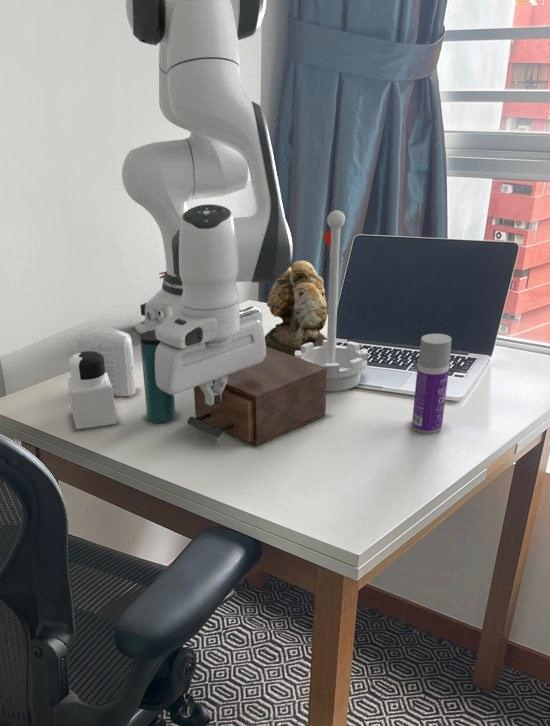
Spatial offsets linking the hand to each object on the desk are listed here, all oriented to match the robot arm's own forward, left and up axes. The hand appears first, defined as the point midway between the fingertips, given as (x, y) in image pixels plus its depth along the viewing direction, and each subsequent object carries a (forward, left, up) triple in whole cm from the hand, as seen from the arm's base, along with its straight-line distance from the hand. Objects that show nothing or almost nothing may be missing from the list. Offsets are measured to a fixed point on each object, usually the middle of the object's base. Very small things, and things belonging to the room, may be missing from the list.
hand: (214, 402), depth 136 cm
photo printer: (-29, -2, -6) cm, 30 cm away
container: (+22, +26, -6) cm, 35 cm away
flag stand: (-3, +30, -6) cm, 31 cm away
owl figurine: (-20, +38, -6) cm, 44 cm away
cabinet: (0, +10, -6) cm, 12 cm away
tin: (-13, -2, -6) cm, 14 cm away
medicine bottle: (-21, -11, -6) cm, 24 cm away
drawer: (0, +6, -5) cm, 8 cm away
